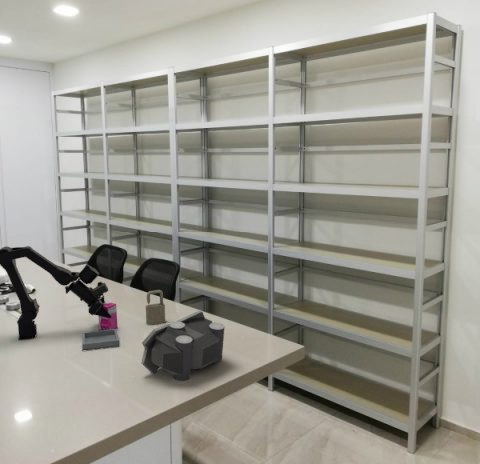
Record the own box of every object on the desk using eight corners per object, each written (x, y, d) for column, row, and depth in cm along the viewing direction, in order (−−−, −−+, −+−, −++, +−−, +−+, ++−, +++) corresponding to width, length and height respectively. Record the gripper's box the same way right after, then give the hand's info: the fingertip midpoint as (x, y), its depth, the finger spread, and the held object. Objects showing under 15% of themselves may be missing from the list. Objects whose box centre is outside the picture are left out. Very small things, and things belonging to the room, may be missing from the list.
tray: (82, 350, 197) (82, 344, 197) (82, 338, 210) (81, 332, 210) (119, 346, 201) (119, 340, 201) (116, 334, 214) (116, 328, 214)
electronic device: (132, 371, 177) (192, 343, 200) (174, 396, 165) (233, 364, 188) (134, 324, 172) (195, 301, 195) (177, 346, 160) (237, 319, 183)
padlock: (145, 322, 229) (144, 290, 227) (163, 320, 233) (162, 288, 230) (148, 325, 226) (146, 292, 223) (165, 322, 229) (164, 290, 227)
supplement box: (98, 330, 220) (97, 305, 218) (108, 326, 225) (106, 301, 223) (108, 332, 217) (107, 306, 215) (118, 328, 222) (116, 303, 221)
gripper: (95, 283, 208) (124, 306, 212) (96, 273, 226) (123, 295, 230) (76, 303, 207) (105, 326, 211) (79, 291, 225) (106, 313, 229)
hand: (111, 314), depth 220 cm, fingers closed on supplement box, 8 cm apart
